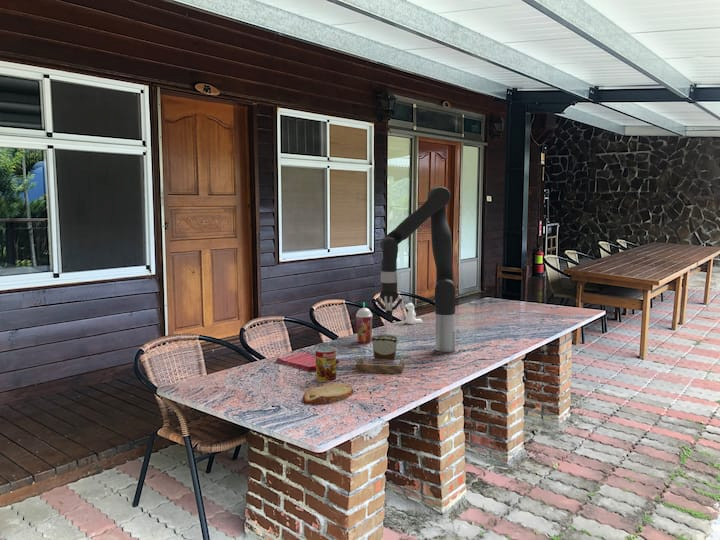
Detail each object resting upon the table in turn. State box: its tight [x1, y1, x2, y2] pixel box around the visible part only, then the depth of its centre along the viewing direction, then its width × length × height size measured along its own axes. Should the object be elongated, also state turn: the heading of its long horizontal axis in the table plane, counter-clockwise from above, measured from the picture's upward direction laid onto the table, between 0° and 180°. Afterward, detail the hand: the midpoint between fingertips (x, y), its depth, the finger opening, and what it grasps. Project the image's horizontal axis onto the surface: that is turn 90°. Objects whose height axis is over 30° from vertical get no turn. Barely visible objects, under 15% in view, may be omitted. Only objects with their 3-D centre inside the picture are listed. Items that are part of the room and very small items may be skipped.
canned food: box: [315, 346, 337, 383], centre depth 237 cm, size 8×8×12 cm
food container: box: [370, 334, 399, 361], centre depth 266 cm, size 12×6×10 cm, turn 71°
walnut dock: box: [354, 358, 405, 374], centre depth 249 cm, size 19×10×3 cm, turn 79°
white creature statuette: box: [404, 302, 423, 325], centre depth 340 cm, size 10×9×12 cm
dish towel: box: [275, 352, 340, 372], centre depth 261 cm, size 17×24×3 cm
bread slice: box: [302, 382, 354, 406], centre depth 217 cm, size 18×18×4 cm
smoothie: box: [355, 302, 374, 344], centre depth 296 cm, size 8×8×20 cm
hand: (389, 318), depth 275 cm, fingers closed
